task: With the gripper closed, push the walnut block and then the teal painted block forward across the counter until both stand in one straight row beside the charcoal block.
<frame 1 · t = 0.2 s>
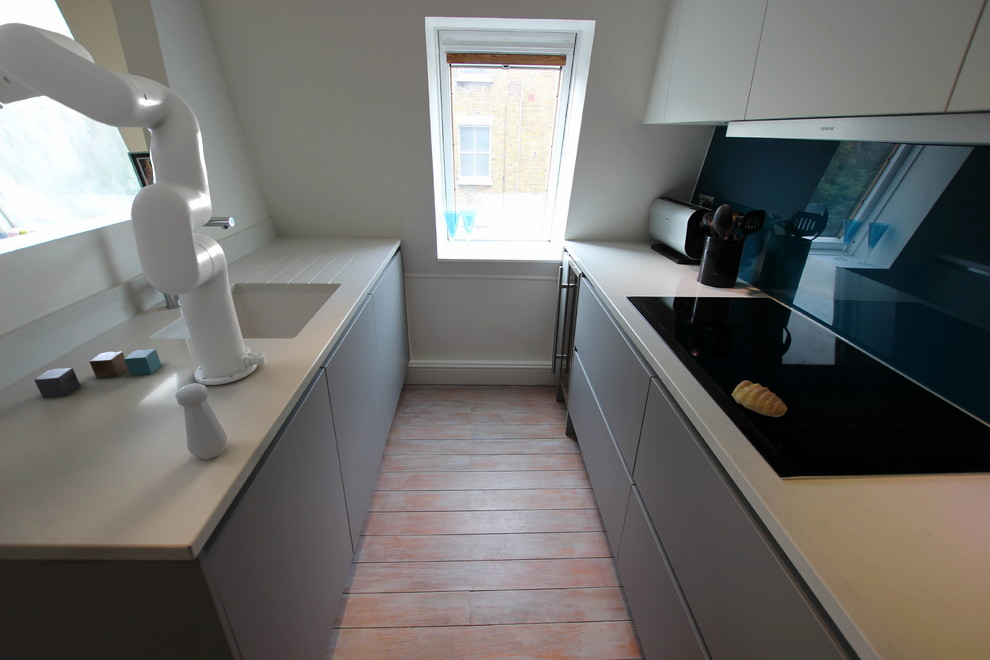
walnut block: (113, 372, 102), on the worktop
salt shaker: (211, 453, 77), on the worktop
pastry: (755, 405, 89), on the worktop
charcoal block: (62, 391, 95), on the worktop
teal block: (146, 370, 103), on the worktop
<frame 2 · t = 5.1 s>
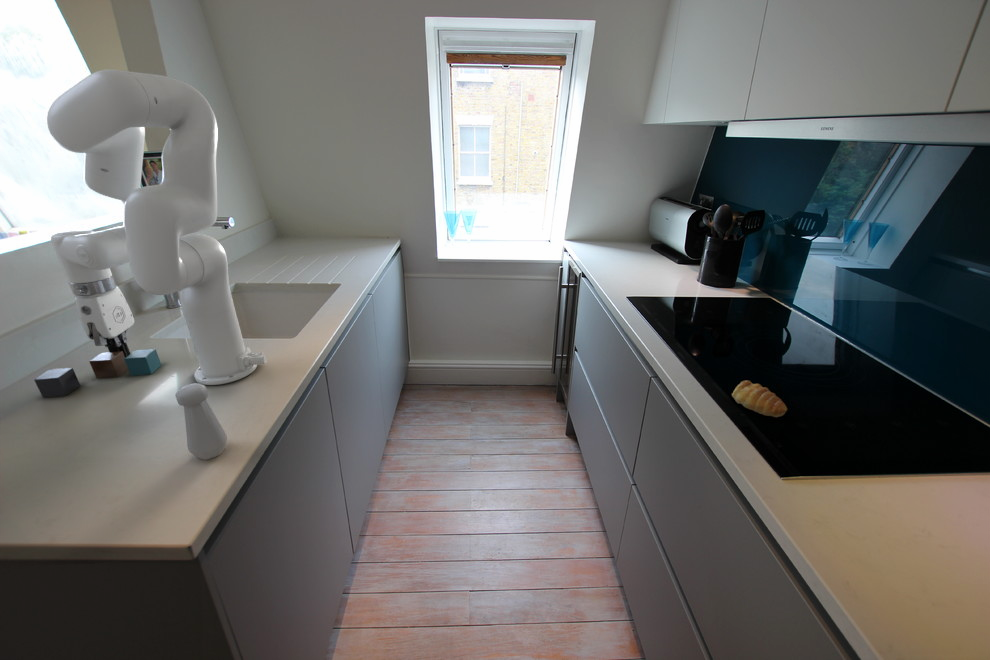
hand: (122, 359, 106), 1 cm above the worktop, tool pointing down, fingers closed
walnut block: (113, 372, 102), on the worktop, touching gripper
everything else where it was.
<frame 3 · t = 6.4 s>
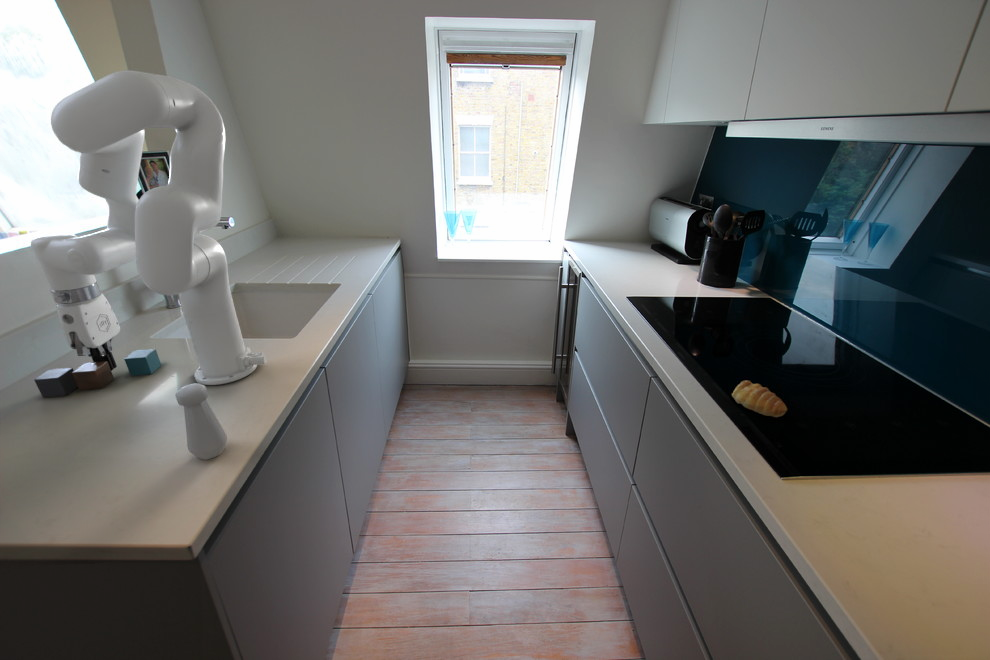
hand: (107, 369, 101), 1 cm above the worktop, tool pointing down, fingers closed
walnut block: (97, 384, 98), on the worktop, touching gripper
everything else where it was.
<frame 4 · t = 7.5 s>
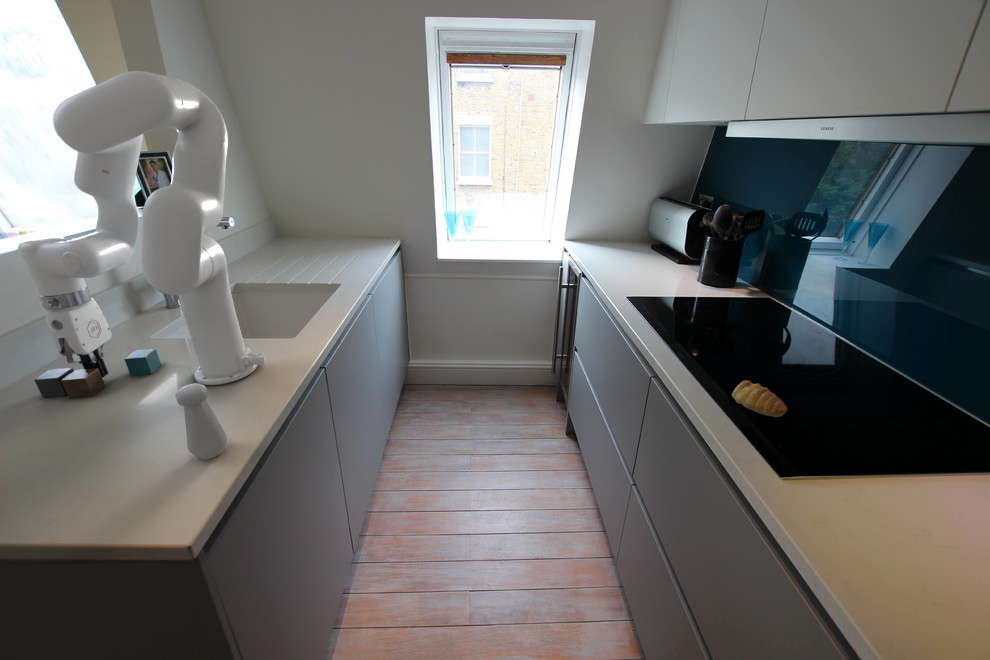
hand: (98, 376, 98), 1 cm above the worktop, tool pointing down, fingers closed
walnut block: (87, 391, 95), on the worktop, touching gripper
everything else where it was.
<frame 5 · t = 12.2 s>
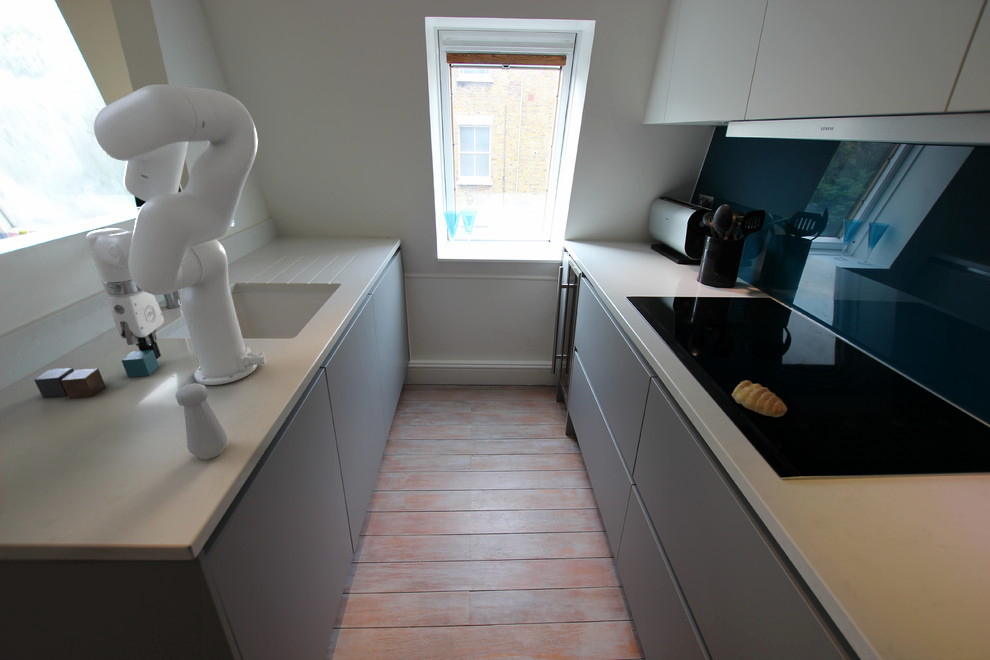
hand: (152, 358, 106), 1 cm above the worktop, tool pointing down, fingers closed
walnut block: (87, 391, 95), on the worktop
teal block: (144, 371, 103), on the worktop, touching gripper
everything else where it was.
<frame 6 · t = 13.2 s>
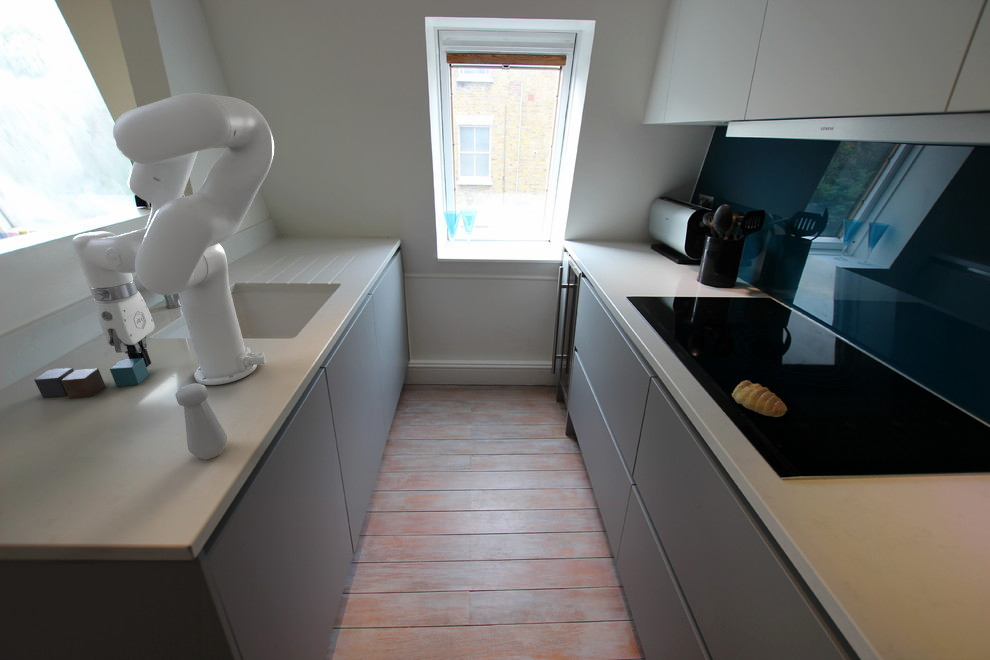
hand: (142, 365, 103), 1 cm above the worktop, tool pointing down, fingers closed
teal block: (133, 380, 99), on the worktop, touching gripper
everything else where it was.
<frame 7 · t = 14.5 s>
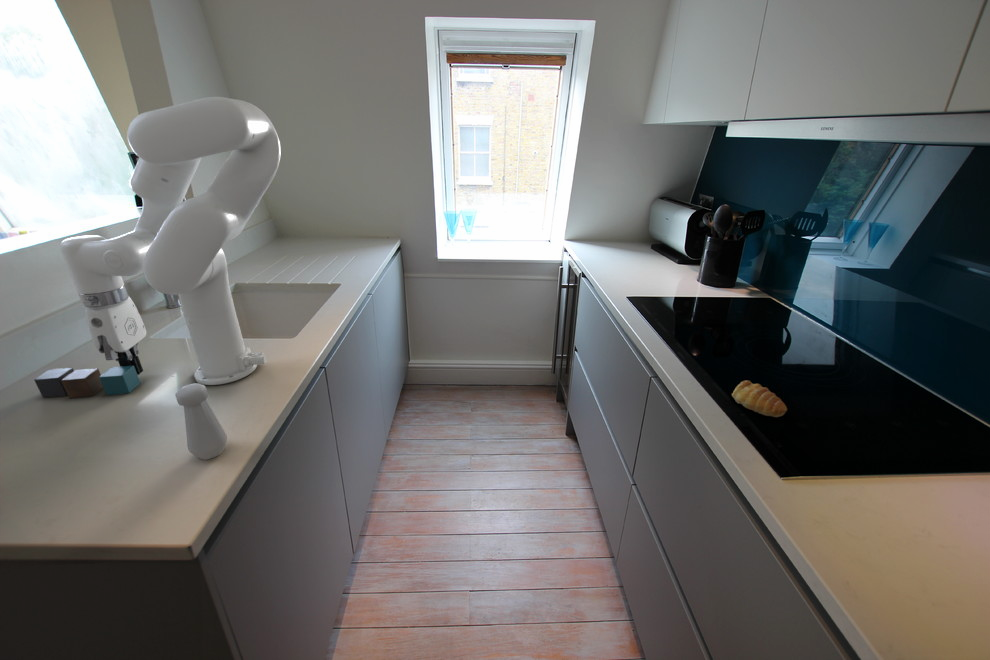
hand: (133, 373, 100), 1 cm above the worktop, tool pointing down, fingers closed
teal block: (123, 388, 96), on the worktop, touching gripper
everything else where it was.
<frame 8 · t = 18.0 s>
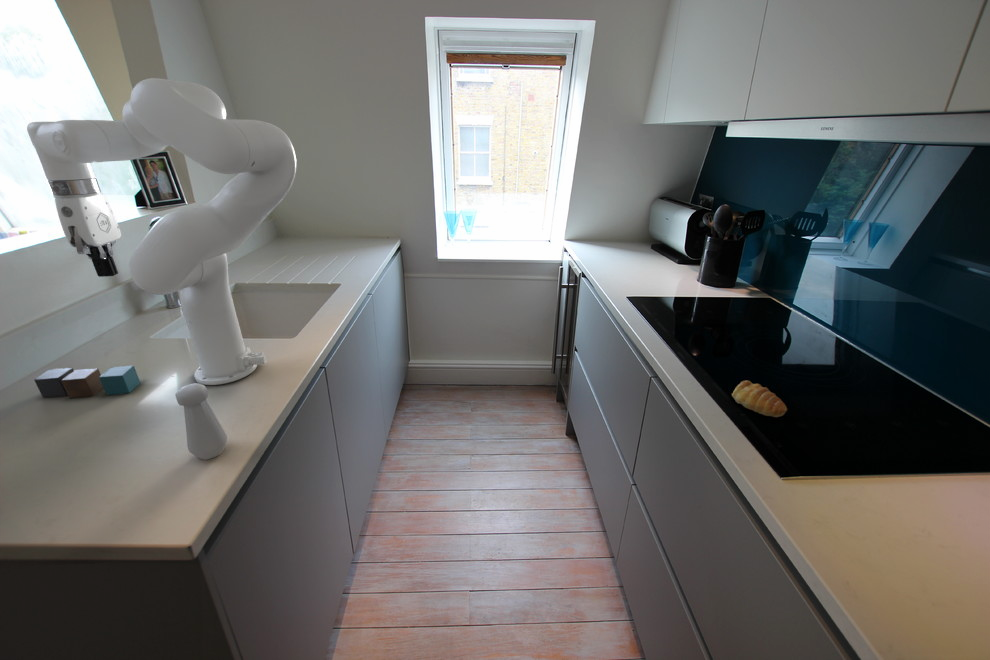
hand: (108, 275, 98), 22 cm above the worktop, tool pointing down, fingers closed
teal block: (123, 388, 96), on the worktop
everything else where it was.
at the end: walnut block 1.1 cm from the target spot, on the worktop; teal block 1.2 cm from the target spot, on the worktop; charcoal block moved 0.0 cm from its start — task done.
